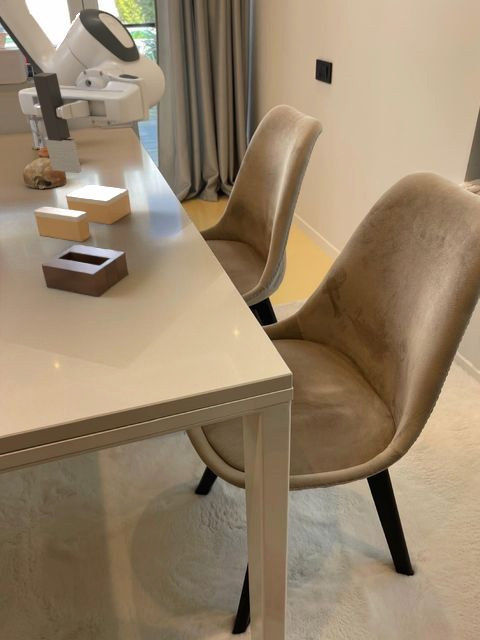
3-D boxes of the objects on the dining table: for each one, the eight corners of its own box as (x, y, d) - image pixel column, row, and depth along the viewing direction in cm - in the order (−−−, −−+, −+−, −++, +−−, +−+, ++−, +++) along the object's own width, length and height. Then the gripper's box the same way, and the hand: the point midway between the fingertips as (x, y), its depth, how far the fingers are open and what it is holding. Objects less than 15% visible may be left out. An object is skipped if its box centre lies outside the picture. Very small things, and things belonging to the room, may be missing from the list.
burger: (68, 157, 160) (64, 140, 158) (82, 164, 154) (79, 146, 152) (34, 163, 155) (30, 146, 152) (48, 171, 149) (44, 153, 146)
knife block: (46, 287, 92) (41, 264, 90) (80, 265, 99) (75, 244, 97) (97, 296, 89) (93, 274, 87) (128, 273, 96) (125, 252, 94)
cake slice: (39, 235, 111) (33, 210, 108) (49, 230, 113) (44, 206, 111) (81, 242, 108) (76, 217, 105) (90, 236, 110) (86, 212, 108)
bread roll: (29, 204, 137) (23, 178, 131) (22, 176, 142) (16, 149, 135) (71, 198, 141) (67, 173, 134) (62, 171, 145) (58, 145, 139)
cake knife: (49, 171, 89) (24, 75, 80) (58, 167, 90) (35, 72, 82) (75, 174, 87) (53, 76, 79) (84, 170, 89) (63, 73, 81)
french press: (71, 143, 174) (54, 52, 160) (51, 152, 165) (31, 57, 151) (43, 141, 176) (23, 52, 162) (22, 151, 167) (-1, 56, 153)
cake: (70, 218, 119) (65, 195, 116) (92, 206, 125) (88, 184, 122) (110, 224, 116) (106, 201, 113) (131, 212, 122) (128, 189, 119)
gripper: (48, 73, 95) (-13, 85, 84) (153, 78, 89) (102, 92, 78) (56, 112, 98) (-1, 129, 88) (157, 120, 92) (110, 139, 81)
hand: (49, 112), depth 83 cm, fingers closed on cake knife, 2 cm apart
